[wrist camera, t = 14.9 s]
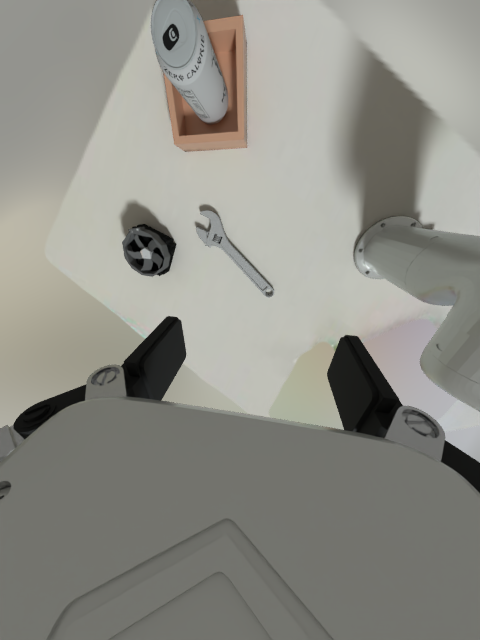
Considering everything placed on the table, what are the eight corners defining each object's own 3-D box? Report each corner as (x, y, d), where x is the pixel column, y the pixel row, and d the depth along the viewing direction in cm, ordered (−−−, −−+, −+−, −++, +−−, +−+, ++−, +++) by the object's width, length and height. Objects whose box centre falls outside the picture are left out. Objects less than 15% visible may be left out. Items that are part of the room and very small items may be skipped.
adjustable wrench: (276, 290, 49) (276, 293, 48) (256, 304, 52) (256, 306, 50) (210, 205, 41) (208, 205, 39) (191, 225, 43) (188, 226, 42)
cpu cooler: (159, 283, 46) (119, 264, 44) (170, 276, 50) (133, 258, 49) (169, 243, 40) (124, 220, 39) (180, 239, 45) (139, 218, 44)
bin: (246, 43, 29) (243, 14, 24) (247, 147, 35) (244, 139, 31) (172, 53, 30) (156, 28, 26) (185, 151, 36) (174, 144, 32)
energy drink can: (236, 108, 32) (214, 43, 19) (208, 135, 34) (172, 93, 21) (215, 63, 29) (175, -47, 17) (187, 95, 32) (132, 20, 19)
